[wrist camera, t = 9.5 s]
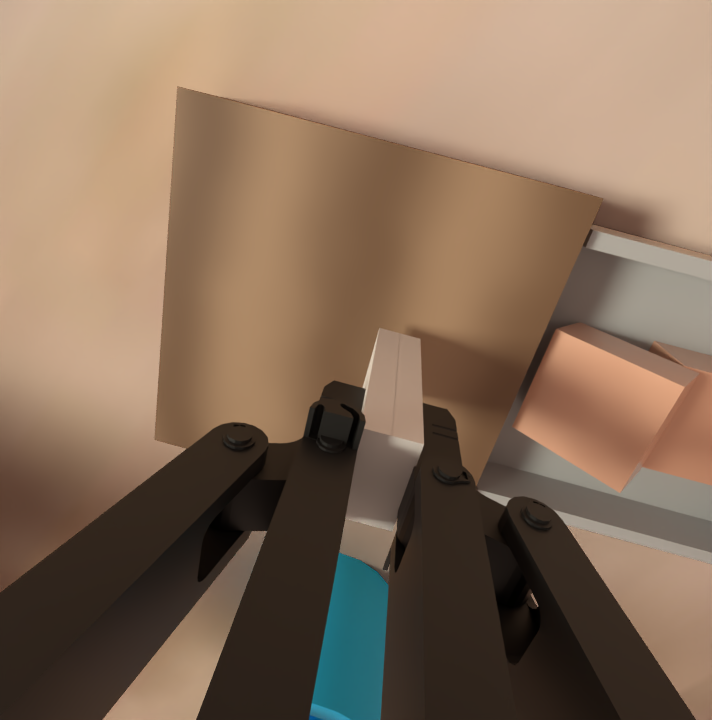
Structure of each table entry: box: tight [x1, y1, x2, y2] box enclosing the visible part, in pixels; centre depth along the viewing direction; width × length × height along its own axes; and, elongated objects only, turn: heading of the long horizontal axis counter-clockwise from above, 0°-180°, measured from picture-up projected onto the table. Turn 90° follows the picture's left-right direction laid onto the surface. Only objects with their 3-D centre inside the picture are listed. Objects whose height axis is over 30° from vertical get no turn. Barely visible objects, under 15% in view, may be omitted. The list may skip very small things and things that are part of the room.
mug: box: [309, 553, 389, 720], centre depth 26 cm, size 12×8×8 cm
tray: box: [476, 224, 712, 564], centre depth 20 cm, size 13×12×3 cm
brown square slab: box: [155, 86, 603, 486], centre depth 20 cm, size 14×14×4 cm
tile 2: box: [512, 322, 700, 493], centre depth 18 cm, size 4×4×2 cm
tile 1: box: [642, 341, 712, 486], centre depth 19 cm, size 4×4×2 cm
